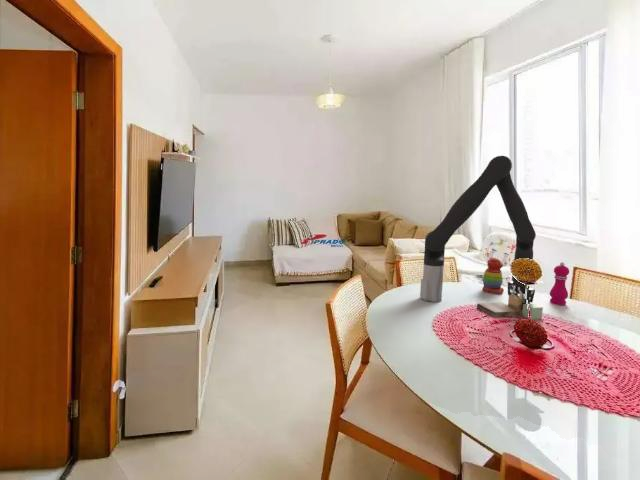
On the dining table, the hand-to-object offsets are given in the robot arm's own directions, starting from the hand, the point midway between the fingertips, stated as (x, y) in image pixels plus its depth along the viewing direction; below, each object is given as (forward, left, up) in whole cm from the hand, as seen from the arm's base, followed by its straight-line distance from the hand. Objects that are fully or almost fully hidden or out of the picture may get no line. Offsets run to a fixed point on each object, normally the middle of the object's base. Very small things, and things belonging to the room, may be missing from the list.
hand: (518, 307), depth 155 cm
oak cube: (0, 0, -1) cm, 1 cm away
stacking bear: (+8, +29, -1) cm, 30 cm away
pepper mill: (+26, +6, -1) cm, 27 cm away
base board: (-11, -1, -1) cm, 11 cm away
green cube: (-1, -9, -1) cm, 9 cm away
